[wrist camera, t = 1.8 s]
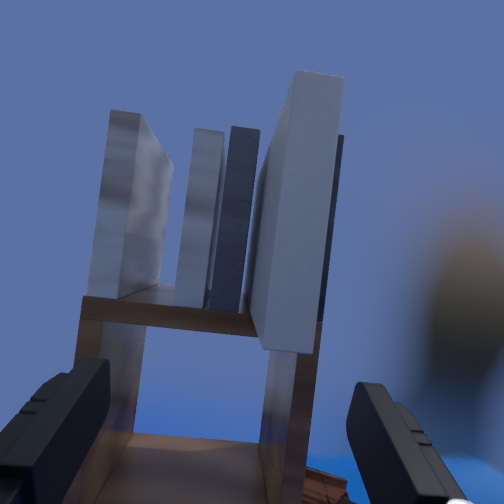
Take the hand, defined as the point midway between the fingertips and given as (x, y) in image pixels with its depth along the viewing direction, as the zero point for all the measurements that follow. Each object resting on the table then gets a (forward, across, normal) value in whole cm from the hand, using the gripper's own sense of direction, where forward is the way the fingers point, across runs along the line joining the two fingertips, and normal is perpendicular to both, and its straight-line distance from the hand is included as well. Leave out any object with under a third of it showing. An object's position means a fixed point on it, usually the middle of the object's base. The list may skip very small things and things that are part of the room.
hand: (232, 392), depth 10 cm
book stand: (+7, +2, +33) cm, 34 cm away
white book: (+12, -2, +4) cm, 13 cm away
